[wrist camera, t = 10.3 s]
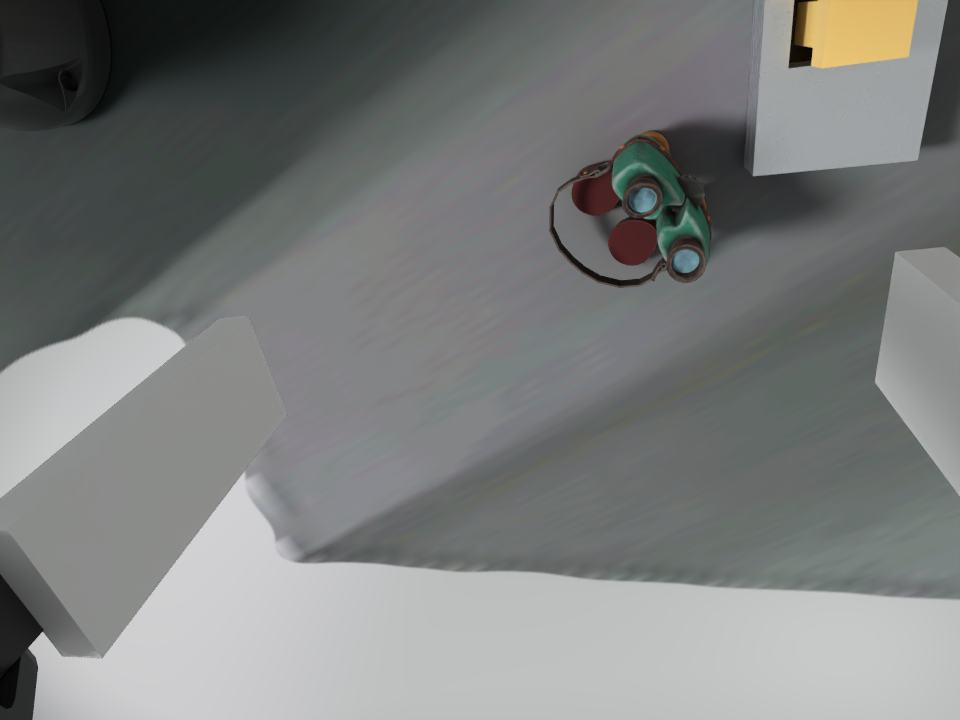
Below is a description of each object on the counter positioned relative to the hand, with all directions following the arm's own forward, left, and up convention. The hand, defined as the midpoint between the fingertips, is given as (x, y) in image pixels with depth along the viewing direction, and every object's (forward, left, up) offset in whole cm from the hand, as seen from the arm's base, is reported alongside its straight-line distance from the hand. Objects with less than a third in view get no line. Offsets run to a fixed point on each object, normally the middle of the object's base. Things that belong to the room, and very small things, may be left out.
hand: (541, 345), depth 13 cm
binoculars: (+2, -6, -33) cm, 33 cm away
